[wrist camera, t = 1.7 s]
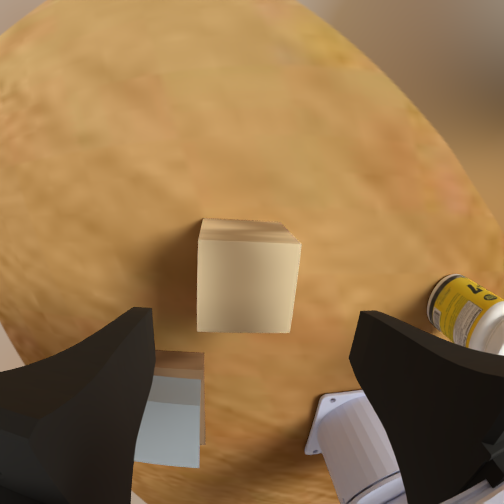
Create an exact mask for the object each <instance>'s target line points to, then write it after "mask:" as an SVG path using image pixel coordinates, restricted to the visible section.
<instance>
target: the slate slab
mask: <svg viewBox="0 0 504 504" xmlns="http://www.w3.org/2000/svg"><path fill="white" fill-rule="evenodd" d="M200 395H201V380H199V379H185V378H174V377H164V376H153V382H152V386H151V390H150V393H149V397H148V400H147V404H146V407H145V411H144V414H143V418H142V421H141V425H140V429H139V432H138V437H137V442H136V448H135V456H134V461H137V462H144V463H152V464H160V465H168V466H179V467H191V468H199V449H200Z"/></svg>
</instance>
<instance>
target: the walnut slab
mask: <svg viewBox="0 0 504 504" xmlns="http://www.w3.org/2000/svg"><path fill="white" fill-rule="evenodd" d="M155 355H156V362H155V369H154V376H164V377H174V378H185V379H199V380H201V395H200V445H205V393H204V353H199V352H177V351H161V350H155Z"/></svg>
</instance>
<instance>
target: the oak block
mask: <svg viewBox="0 0 504 504" xmlns="http://www.w3.org/2000/svg"><path fill="white" fill-rule="evenodd" d="M301 245H302V244H301V243H300V242H299V241H298V240H297V239H296V238H295V237H294V236H293V235H292V234H291V233H290V232H289V230H288V229H287V228H286V227H285V226H284V225H283V224H282V223H281V222H272V221H254V220H234V219H213V218H203V221H202V225H201V230H200V234H199V238H198V266H197V332H226V333H290V328H291V321H292V314H293V307H294V300H295V293H296V285H297V278H298V270H299V262H300V254H301Z"/></svg>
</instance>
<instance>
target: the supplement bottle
mask: <svg viewBox="0 0 504 504" xmlns="http://www.w3.org/2000/svg"><path fill="white" fill-rule="evenodd" d="M427 315H428V319H429V321H430V322H431V323H432V324H433V325H434V326H435V327H436V328H437V329H438V330H439V331H441V332H442V333H443V334H444V335H445V336H446V337H447V338H449V339H450V340H451V341H452V342H453V343H454V344H457V345H461V346H464V347H467V348H470V349H474V350H478V351H482V352H487V353H492V354H497V355H503V356H504V300H503V299H502V298H500V297H498V296H496V295H495V294H493V293H492V292H490V291H488V290H487V289H485V288H483V287H482V286H480V285H478V284H476V283H475V282H473V281H471V280H470V279H468V278H466V277H464V276H462V275H460V274H451V275H448V276H446V277H445V278H443V279H442V280H441V281H440V282H439V283H438V284H437V285H436V286H435V288H434V290H433V291H432V293H431V295H430V298H429V301H428V305H427Z"/></svg>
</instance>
